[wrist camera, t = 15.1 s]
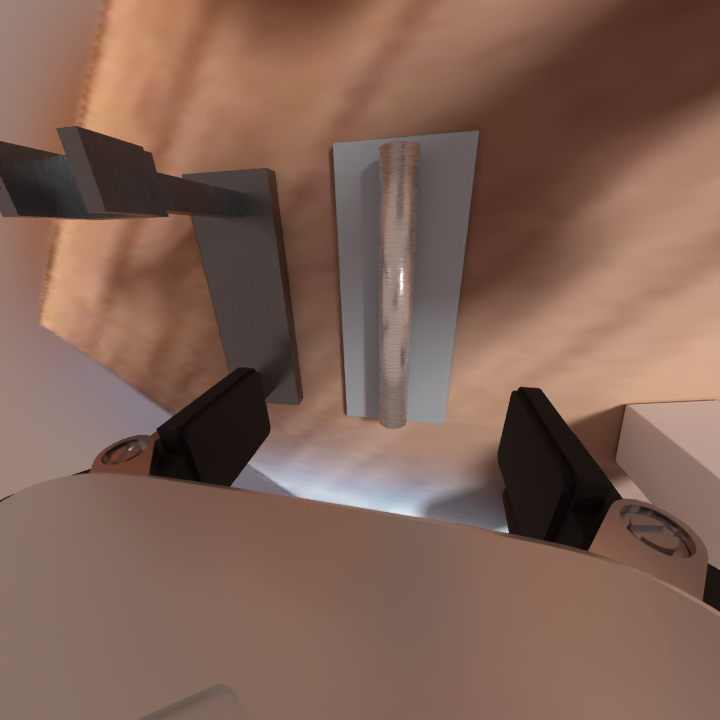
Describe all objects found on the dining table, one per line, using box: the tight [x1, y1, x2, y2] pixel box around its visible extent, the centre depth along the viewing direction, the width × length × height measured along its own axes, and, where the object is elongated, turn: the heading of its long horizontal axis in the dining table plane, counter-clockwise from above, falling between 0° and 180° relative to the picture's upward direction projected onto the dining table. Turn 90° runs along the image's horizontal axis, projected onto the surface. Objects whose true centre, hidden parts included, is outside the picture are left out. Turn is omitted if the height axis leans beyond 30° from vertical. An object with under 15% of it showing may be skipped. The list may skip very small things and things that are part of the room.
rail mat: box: [333, 130, 479, 424], centre depth 27 cm, size 26×11×1 cm, turn 2°
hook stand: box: [0, 126, 303, 441], centre depth 23 cm, size 23×8×16 cm, turn 2°
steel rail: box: [379, 141, 421, 429], centre depth 25 cm, size 24×3×3 cm, turn 2°
